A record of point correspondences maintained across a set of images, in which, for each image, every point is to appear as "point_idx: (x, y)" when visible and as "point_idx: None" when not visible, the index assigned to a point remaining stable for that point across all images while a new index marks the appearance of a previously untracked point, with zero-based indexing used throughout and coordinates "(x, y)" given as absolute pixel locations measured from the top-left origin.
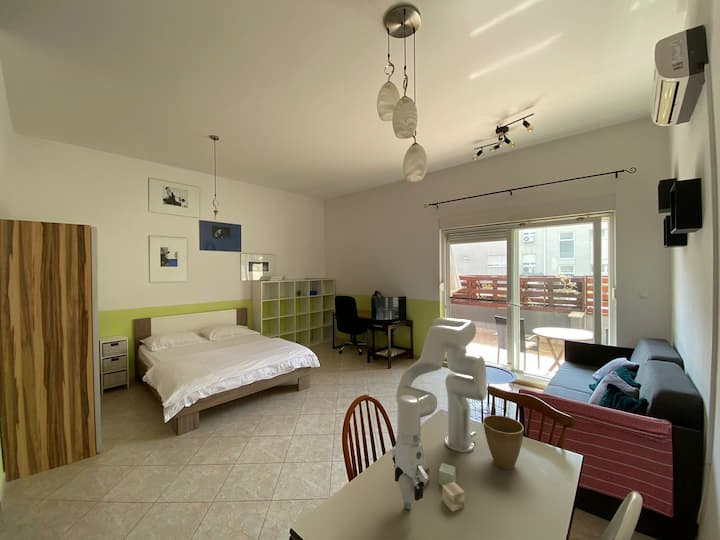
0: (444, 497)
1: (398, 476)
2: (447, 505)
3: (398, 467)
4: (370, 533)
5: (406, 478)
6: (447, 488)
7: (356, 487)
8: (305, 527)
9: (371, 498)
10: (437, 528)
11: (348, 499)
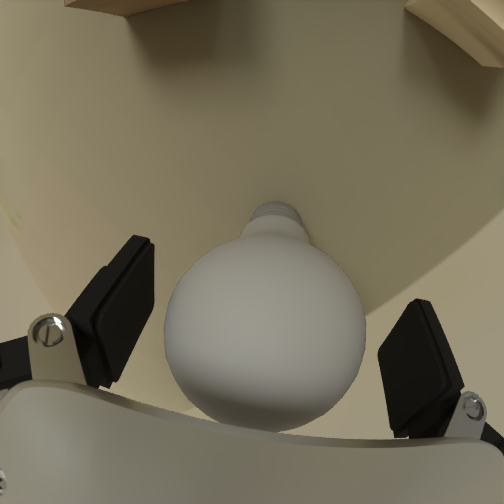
0: (439, 15)
1: (138, 319)
2: (451, 38)
3: (95, 381)
4: None
5: (278, 431)
6: (494, 3)
7: (46, 280)
8: None
9: None
10: (460, 220)
11: None
